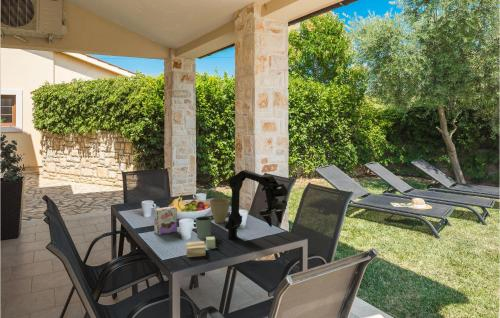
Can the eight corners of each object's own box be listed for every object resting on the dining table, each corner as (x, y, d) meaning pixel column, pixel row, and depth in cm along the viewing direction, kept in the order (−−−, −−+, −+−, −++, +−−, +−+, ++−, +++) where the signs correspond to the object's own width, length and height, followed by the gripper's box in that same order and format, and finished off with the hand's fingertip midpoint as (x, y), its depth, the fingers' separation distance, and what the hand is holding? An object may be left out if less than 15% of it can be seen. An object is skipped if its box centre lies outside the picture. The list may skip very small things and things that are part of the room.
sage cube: (206, 245, 205) (205, 237, 204) (214, 244, 206) (214, 236, 205) (206, 248, 200) (206, 239, 199) (215, 247, 201) (215, 239, 200)
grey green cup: (208, 239, 214) (208, 221, 212) (193, 238, 216) (193, 219, 214) (213, 234, 223) (213, 216, 222) (198, 233, 225) (198, 215, 224)
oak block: (186, 250, 196) (186, 242, 195) (204, 249, 198) (204, 241, 197) (187, 257, 186) (186, 248, 186) (205, 256, 188) (205, 247, 188)
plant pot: (219, 225, 242) (219, 203, 240) (205, 221, 252) (205, 200, 250) (234, 221, 253) (234, 200, 251) (220, 217, 263) (220, 197, 261)
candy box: (157, 235, 221) (157, 210, 219) (154, 233, 226) (153, 208, 224) (177, 231, 229) (177, 207, 227) (173, 229, 234) (173, 205, 232)
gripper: (272, 199, 183) (277, 228, 182) (291, 193, 197) (296, 220, 196) (256, 200, 190) (261, 228, 189) (276, 195, 204) (280, 221, 203)
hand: (275, 224), depth 194 cm, fingers open, 9 cm apart
